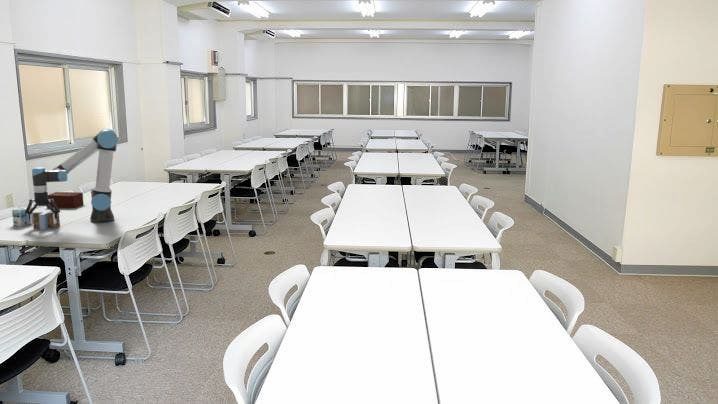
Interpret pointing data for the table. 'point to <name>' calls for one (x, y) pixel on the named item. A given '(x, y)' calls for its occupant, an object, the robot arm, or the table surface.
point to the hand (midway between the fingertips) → (43, 223)
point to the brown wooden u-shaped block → (50, 220)
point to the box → (66, 199)
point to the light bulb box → (21, 217)
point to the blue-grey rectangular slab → (44, 220)
